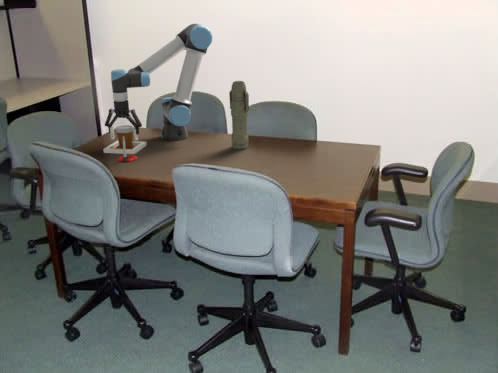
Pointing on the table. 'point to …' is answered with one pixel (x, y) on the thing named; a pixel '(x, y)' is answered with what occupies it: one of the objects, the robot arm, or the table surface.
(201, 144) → the table surface
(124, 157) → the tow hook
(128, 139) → the disposable coffee cup
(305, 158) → the table surface
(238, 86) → the olive green statue
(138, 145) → the holder frame
